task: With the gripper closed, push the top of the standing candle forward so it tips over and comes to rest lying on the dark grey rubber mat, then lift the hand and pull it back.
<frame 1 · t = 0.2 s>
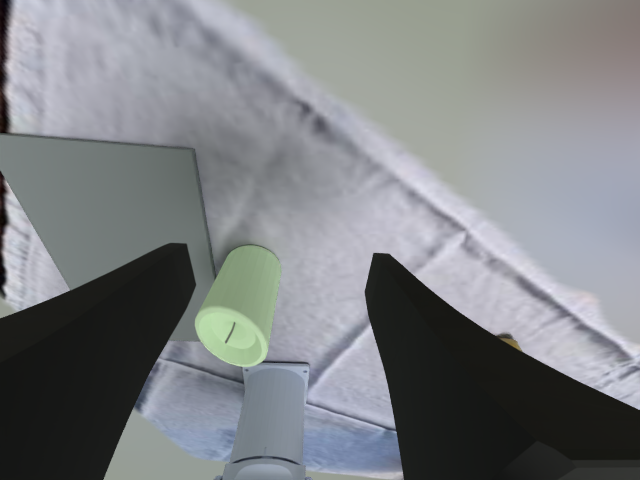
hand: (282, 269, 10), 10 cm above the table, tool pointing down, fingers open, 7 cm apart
candle: (254, 266, 22), on the table
mat: (137, 261, 21), on the table
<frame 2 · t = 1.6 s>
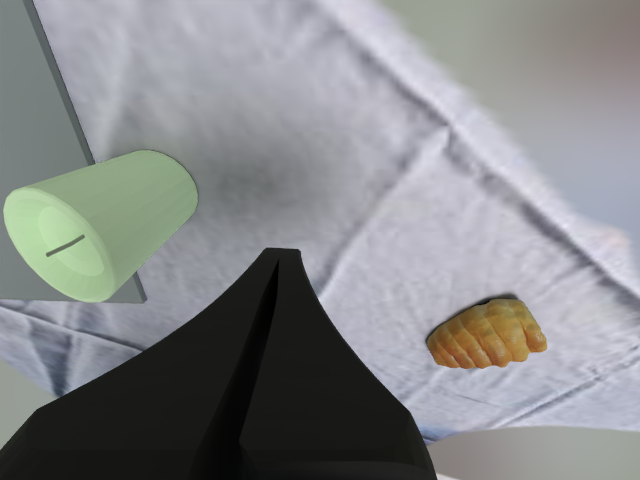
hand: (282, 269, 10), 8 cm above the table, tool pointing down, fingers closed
candle: (161, 188, 16), on the table
pastry: (477, 323, 24), on the table
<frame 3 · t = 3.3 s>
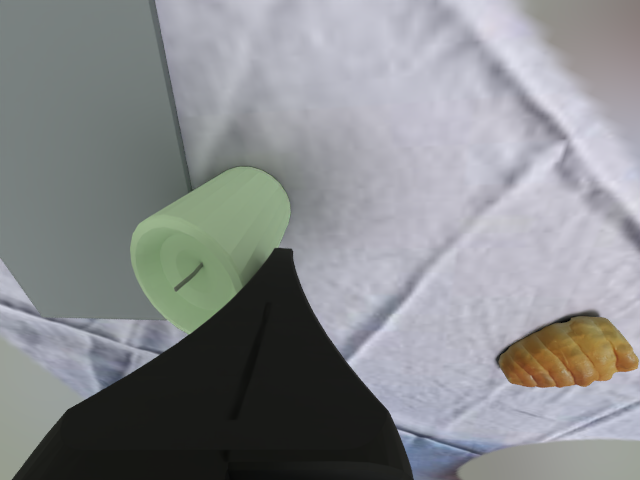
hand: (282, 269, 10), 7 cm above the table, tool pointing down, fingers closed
candle: (252, 205, 15), on the table, touching gripper
mat: (82, 196, 15), on the table
pastry: (550, 339, 24), on the table
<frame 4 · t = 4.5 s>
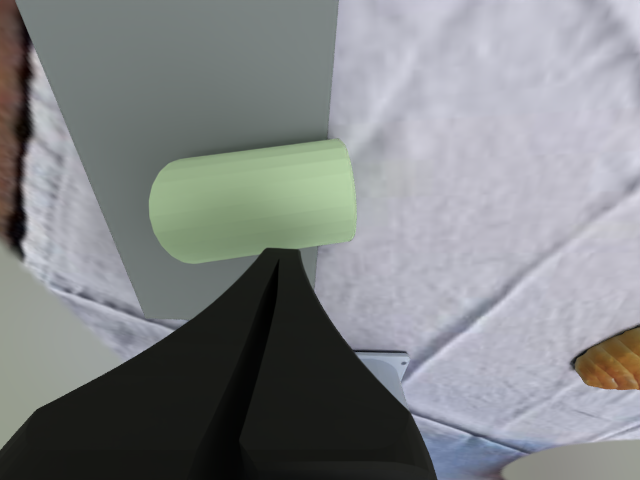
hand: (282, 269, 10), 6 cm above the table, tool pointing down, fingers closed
candle: (349, 191, 12), point 2 cm above the table, touching mat
mat: (214, 201, 15), on the table
pastry: (627, 342, 24), on the table
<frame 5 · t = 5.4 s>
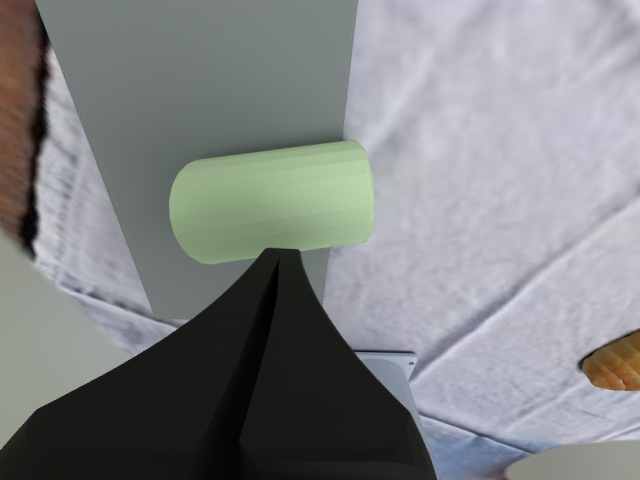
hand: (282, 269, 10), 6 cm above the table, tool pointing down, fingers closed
candle: (364, 191, 12), point 2 cm above the table, touching mat
mat: (227, 201, 15), on the table
pastry: (634, 344, 24), on the table
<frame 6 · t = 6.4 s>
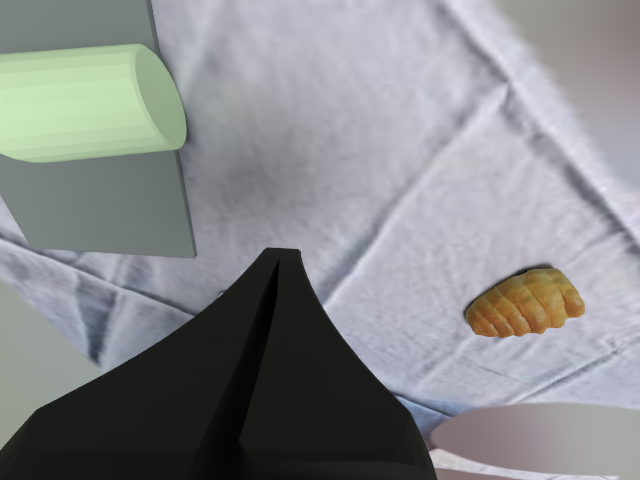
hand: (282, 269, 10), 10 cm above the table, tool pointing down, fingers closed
candle: (168, 100, 14), point 2 cm above the table, touching mat
mat: (71, 122, 16), on the table
pastry: (513, 294, 26), on the table
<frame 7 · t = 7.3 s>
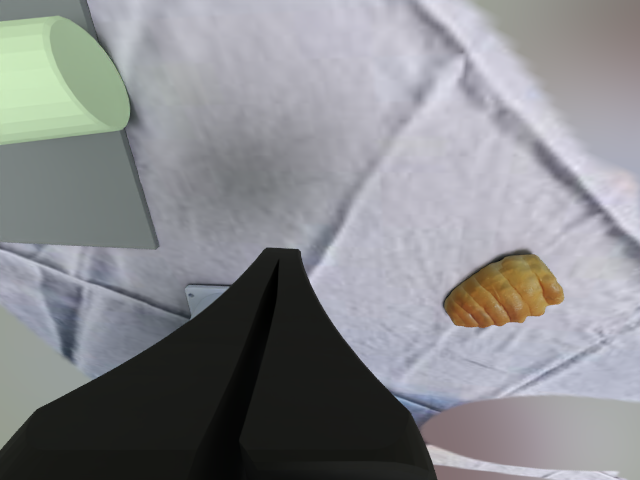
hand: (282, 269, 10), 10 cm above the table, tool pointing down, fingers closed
candle: (100, 78, 13), point 2 cm above the table, touching mat
mat: (13, 107, 16), on the table
pastry: (493, 283, 25), on the table
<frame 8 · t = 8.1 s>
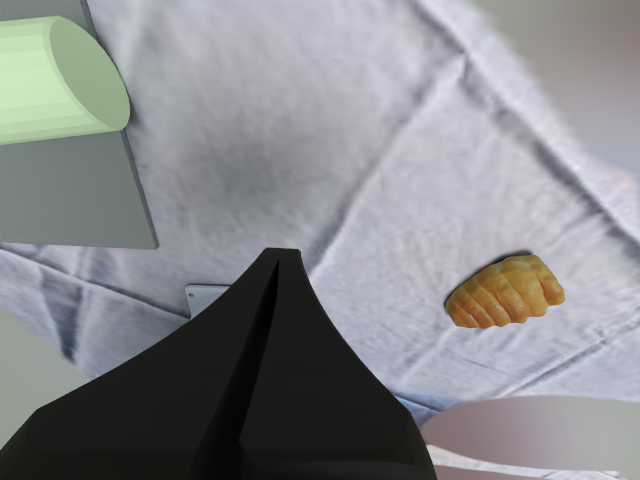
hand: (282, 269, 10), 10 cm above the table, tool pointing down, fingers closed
candle: (100, 78, 13), point 2 cm above the table, touching mat
mat: (13, 107, 16), on the table
pastry: (494, 284, 25), on the table
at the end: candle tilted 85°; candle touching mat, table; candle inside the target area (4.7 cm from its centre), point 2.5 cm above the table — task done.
